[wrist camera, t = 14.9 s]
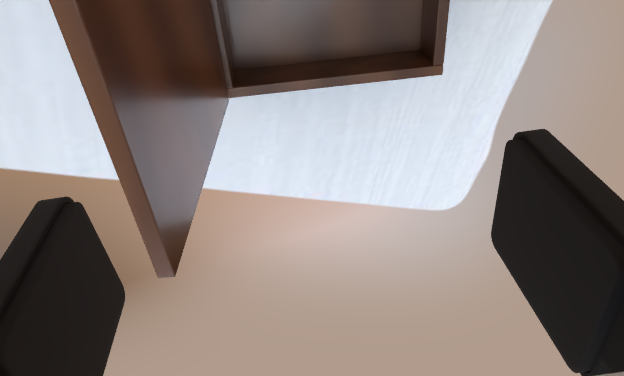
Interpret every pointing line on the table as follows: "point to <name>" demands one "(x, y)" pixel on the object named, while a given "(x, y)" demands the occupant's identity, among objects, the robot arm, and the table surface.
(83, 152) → the table surface
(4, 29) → the table surface
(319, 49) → the chest
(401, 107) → the table surface
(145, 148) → the chest lid
